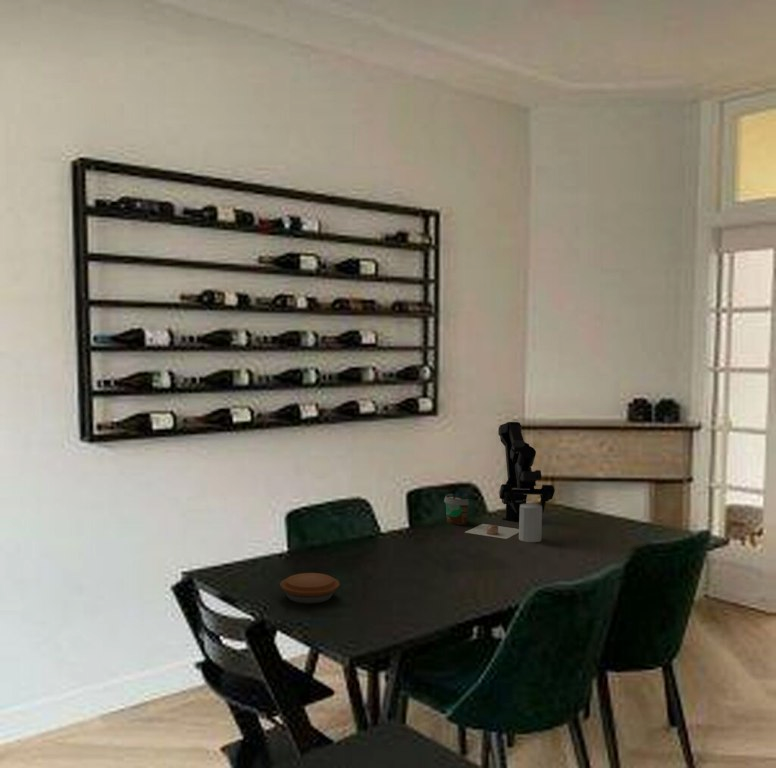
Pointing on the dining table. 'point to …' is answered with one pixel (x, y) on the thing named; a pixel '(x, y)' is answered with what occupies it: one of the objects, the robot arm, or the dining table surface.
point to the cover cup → (530, 522)
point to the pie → (309, 587)
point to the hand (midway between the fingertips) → (529, 512)
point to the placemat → (502, 533)
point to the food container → (456, 510)
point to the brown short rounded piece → (492, 530)
